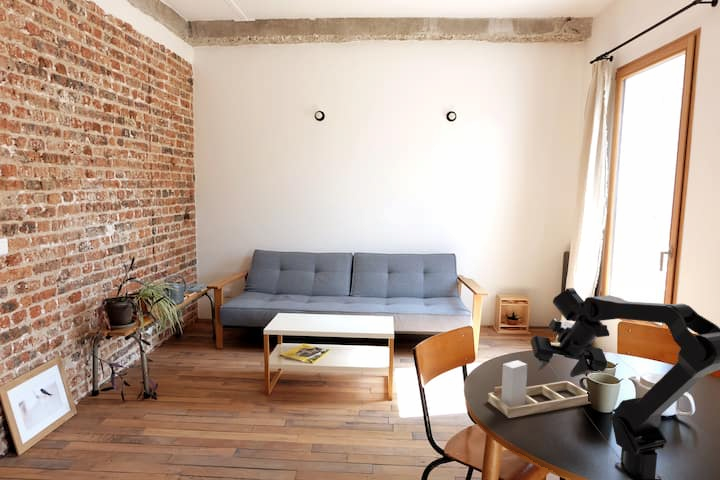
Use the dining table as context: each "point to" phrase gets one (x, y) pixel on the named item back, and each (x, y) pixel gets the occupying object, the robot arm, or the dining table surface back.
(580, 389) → the organiser
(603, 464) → the dining table surface
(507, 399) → the pale grey upright block
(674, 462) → the dining table surface
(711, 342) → the robot arm
